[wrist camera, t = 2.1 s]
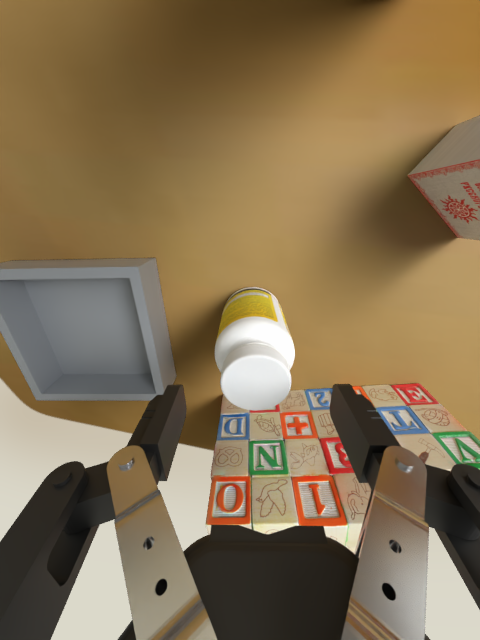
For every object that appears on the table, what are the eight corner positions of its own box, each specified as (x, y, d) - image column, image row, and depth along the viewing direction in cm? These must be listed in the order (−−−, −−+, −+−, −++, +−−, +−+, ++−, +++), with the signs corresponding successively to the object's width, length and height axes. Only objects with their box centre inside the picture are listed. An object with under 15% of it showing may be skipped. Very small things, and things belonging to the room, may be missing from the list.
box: (12, 260, 20) (-32, 269, 17) (155, 257, 20) (137, 266, 16) (62, 376, 25) (36, 400, 22) (176, 376, 25) (166, 400, 22)
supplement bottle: (211, 312, 22) (186, 382, 13) (254, 273, 20) (260, 322, 11) (250, 348, 23) (252, 432, 14) (293, 315, 22) (325, 387, 13)
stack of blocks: (419, 380, 25) (564, 520, 13) (408, 422, 27) (520, 568, 16) (221, 392, 26) (203, 529, 15) (228, 431, 29) (217, 571, 17)
